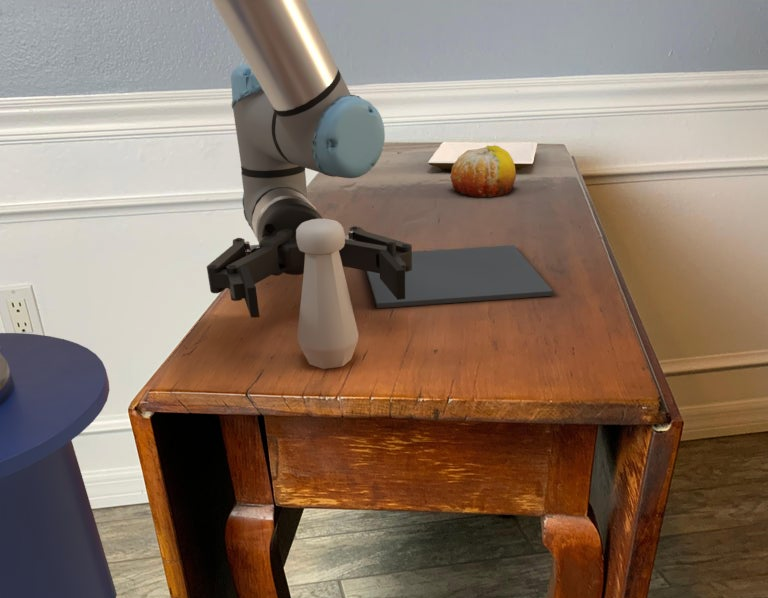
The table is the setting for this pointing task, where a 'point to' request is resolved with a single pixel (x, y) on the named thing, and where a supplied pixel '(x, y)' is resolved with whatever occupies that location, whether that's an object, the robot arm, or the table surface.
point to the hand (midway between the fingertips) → (328, 293)
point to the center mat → (463, 277)
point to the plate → (452, 150)
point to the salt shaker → (325, 296)
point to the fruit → (484, 172)
